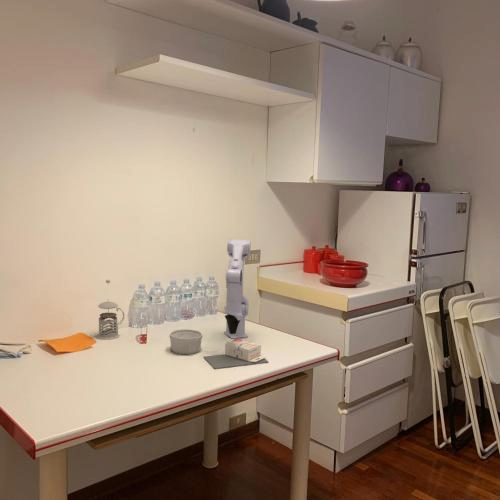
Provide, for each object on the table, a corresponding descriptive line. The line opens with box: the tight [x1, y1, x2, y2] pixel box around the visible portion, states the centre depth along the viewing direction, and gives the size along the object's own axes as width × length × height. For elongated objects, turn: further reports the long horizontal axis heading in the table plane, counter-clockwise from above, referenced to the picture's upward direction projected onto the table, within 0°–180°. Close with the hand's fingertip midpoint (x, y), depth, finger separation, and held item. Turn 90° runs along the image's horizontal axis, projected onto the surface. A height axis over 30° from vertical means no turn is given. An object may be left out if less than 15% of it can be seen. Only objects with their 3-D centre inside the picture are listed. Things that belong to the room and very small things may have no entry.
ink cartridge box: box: [224, 338, 267, 362], centre depth 198 cm, size 9×5×15 cm
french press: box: [95, 279, 125, 341], centre depth 217 cm, size 10×12×25 cm
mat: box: [203, 353, 270, 370], centre depth 195 cm, size 13×22×1 cm, turn 113°
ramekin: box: [169, 328, 203, 355], centre depth 204 cm, size 13×13×7 cm
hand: (232, 333), depth 198 cm, fingers closed
